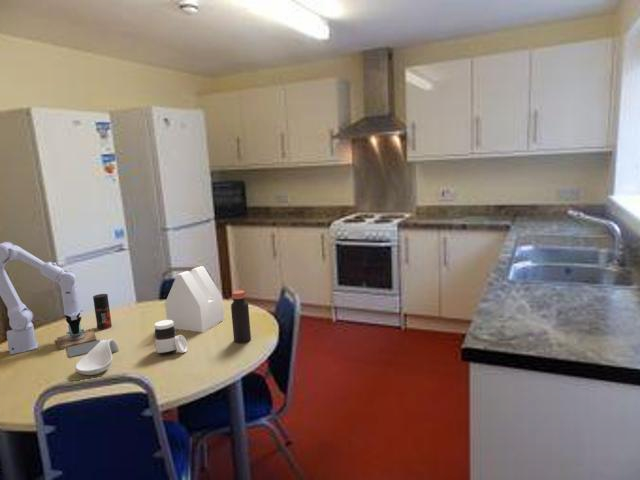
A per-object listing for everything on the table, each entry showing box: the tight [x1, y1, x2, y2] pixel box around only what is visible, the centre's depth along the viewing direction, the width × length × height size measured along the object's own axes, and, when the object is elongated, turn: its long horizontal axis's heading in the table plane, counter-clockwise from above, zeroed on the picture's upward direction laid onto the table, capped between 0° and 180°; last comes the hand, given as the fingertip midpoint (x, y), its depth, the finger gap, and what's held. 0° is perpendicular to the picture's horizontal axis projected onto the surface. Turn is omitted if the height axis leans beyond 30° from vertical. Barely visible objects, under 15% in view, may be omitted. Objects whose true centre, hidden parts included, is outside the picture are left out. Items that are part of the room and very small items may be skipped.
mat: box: [66, 339, 101, 359], centre depth 180 cm, size 12×12×1 cm
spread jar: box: [153, 319, 188, 356], centre depth 172 cm, size 12×11×12 cm
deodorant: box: [92, 293, 113, 331], centre depth 203 cm, size 6×6×15 cm
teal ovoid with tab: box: [66, 323, 85, 336], centre depth 189 cm, size 6×5×4 cm
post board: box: [56, 329, 98, 351], centre depth 189 cm, size 14×14×3 cm
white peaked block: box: [164, 265, 225, 333], centre depth 200 cm, size 19×15×25 cm
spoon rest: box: [74, 339, 119, 376], centre depth 164 cm, size 24×12×7 cm, turn 7°
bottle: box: [230, 289, 252, 344], centre depth 178 cm, size 7×7×20 cm
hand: (75, 332), depth 189 cm, fingers closed on teal ovoid with tab, 5 cm apart
